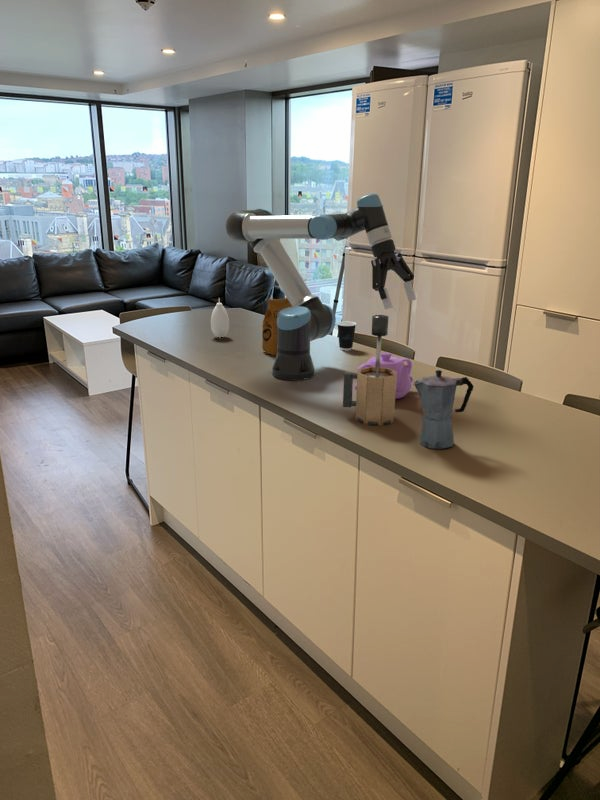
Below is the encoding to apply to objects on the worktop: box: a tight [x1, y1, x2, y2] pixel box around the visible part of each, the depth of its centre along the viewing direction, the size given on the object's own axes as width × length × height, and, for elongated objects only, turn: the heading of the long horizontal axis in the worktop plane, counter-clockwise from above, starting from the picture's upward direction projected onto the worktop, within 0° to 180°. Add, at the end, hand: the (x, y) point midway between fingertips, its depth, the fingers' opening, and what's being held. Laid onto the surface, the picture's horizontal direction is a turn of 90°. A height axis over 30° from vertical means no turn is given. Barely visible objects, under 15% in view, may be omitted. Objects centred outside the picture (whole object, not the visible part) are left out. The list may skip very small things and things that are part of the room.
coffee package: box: [261, 297, 292, 356], centre depth 242 cm, size 10×12×22 cm
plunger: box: [364, 314, 390, 377], centre depth 169 cm, size 8×8×18 cm
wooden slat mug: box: [342, 367, 397, 427], centre depth 174 cm, size 15×11×14 cm
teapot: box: [354, 351, 414, 400], centre depth 192 cm, size 22×22×14 cm
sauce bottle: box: [210, 298, 230, 338], centre depth 265 cm, size 8×8×18 cm
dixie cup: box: [336, 320, 357, 352], centre depth 249 cm, size 8×8×11 cm
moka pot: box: [412, 369, 474, 450], centre depth 156 cm, size 10×15×20 cm, turn 95°
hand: (401, 304), depth 200 cm, fingers open, 13 cm apart
